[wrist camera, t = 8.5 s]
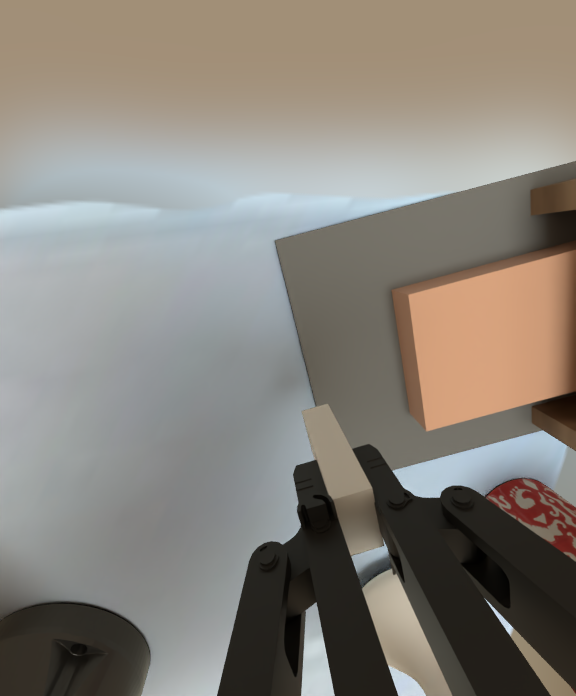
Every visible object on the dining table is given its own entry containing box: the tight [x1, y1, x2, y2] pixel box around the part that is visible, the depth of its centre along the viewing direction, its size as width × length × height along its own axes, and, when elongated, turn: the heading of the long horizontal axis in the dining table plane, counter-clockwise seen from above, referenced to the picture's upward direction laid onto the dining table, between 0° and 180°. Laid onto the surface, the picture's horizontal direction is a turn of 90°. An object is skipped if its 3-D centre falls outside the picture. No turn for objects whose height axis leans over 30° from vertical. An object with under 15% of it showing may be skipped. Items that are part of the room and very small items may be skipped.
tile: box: [392, 240, 576, 431], centre depth 22 cm, size 14×10×3 cm
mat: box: [275, 161, 576, 470], centre depth 23 cm, size 28×20×1 cm
